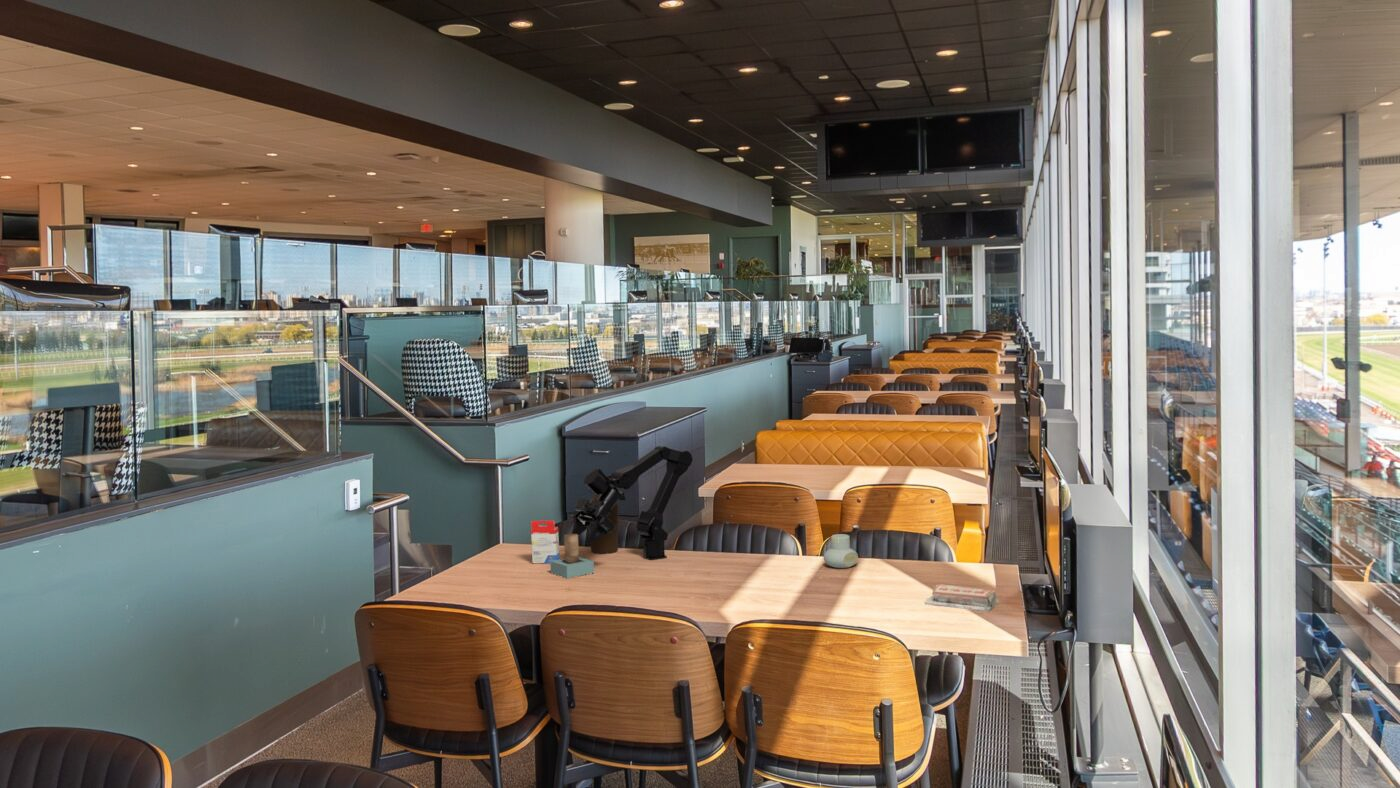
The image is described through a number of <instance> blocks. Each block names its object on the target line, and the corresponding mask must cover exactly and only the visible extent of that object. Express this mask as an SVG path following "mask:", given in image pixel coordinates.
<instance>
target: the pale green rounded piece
mask: <svg viewBox="0 0 1400 788" xmlns="http://www.w3.org/2000/svg"><path fill="white" fill-rule="evenodd" d="M830 537H831V538H830V545H831V547H830V548H828V549H827V550H826V551H825V552H824V554H823V560H824V562H825V564H827V565H828V566H829V567H831V568H836V569H849V568H851V567H852V566H854V565H856V564H857V562H858V560H859V555H858V552H856V551H855V550H854V549H853V548H852V547H851V540H850V535H848V534H845V533H837V534H832V535H831V536H830Z"/></svg>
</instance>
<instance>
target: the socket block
mask: <svg viewBox="0 0 1400 788" xmlns="http://www.w3.org/2000/svg"><path fill="white" fill-rule="evenodd" d="M594 563H595V562H594V560H591V559H589V558H588V559H587V558H584V557H581V556H579V562H578V563H573V564H566V563H565V558H560V560H554V561H551V564H550V574H551V573H553V574H552V575H554V574H556V575H555V576H557V575H559V576H558V577H560V576H562V577H561V578H564V577H565V578H564V579H567V578H568V579H572V578H571V577H573V578H576V577H575V576H578V577H581V576H580V575H583V576H586V575H585V574H588V575H591V574H590V573H593V574H594V573H595V569H594V568H595V566H594V565H595V564H594Z"/></svg>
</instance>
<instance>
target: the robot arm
mask: <svg viewBox="0 0 1400 788" xmlns="http://www.w3.org/2000/svg"><path fill="white" fill-rule="evenodd" d="M663 460H664V461H666V472H665V474H664V477H663V479H662V481H661V483H660V485H659V487H658V490H657V491H656V494H655V496H654V499H653V500H652V503H651V505H650V507H649V509H647V510H646V511H643V510H641V512H640V513H639V517H638V519H637V520H636V522H637V523H636V530H637V533H638V534H639V535H640V538H641V539H642V540H643V544H642V557H643V558H645V559H647V560H650V561H651V560H657V559H665V558H667V555H666V553H665V552H666V551H665V541H667V540H668V536H669V533H668V532H667V531H666V530H665V529H663V525H664V512H665V510H666V508H667V506H668V504H669V502H670V499H671V498H672V495H673V493H674V491H675V488H676V486H677V484H678V482H679V479H680V477H682V475H684V474H685V473H686V472H687V471H689V468H690V467H691V465H692V464H693V455H692V454H691V452H690V451H688V450H682V449H672V448H669V447H667V446H662V445H658V446H656V447H654V449H652V450H651V451H650V452H647V454H645V455H644V456H642V457H641V458H639V459H638V460H636V461H635V462H634V463H632V464H630V465H628V466H625V467H622V468H619V469H617V470H614V471H613V472H612V473H611V474H609V475H606V474H605V473H604V472H603V471H602V470H601V469H600V468H595V469H594V470H593V471H591V472H589V474H587V475H586V476H585V477H584V479H583V482H584V484H585V486H587V487H588V489H589V490H591V491H592V492H593V494H595V495H598V494H601V495H600V496H599V498H598V499H597V500H596V499H593V497H590V498H589V499H585V498H583V497H582V498H581V497H578V498H577V501H576V504H575V506H574V507H575V508H577V509H574V510H573V511H572V513H570V516H571V519H572V520H573V527H572V530H571V533H570V534H578V537H579V536H580V535H581V534H582V533H583V532H585V531H586V530H587V529H588V526H589V525H590V523H593V529H592V530H591V532H590V531H589V534H588V536H587V538H586V540H585V541H584V543H585V545H591V542H593V541H595V540H596V539H598V538H600V537H602V536H604V535H606V534H609V532H611V533H612V532H613V531H614V529H615V524H614V523H613V522H612V521H611V520H610V519H609V518H608V517H607V515H608V514H612V513H613V511H612V508H613V507H614V505H615V504H616V502H617V503H618V501H623V502H624V501H626V493H625V492H624V491H620V490H619V489H622V490H629V489H631V488H632V487H633V486H634V485H635V484H636V483H637V481H638V479H639V478H640V477H641V475H643V474H644V473H646V472H647V471H649V470H650V469H652V468H653V467H654V466H656V465H657V464H658V463H660V462H662V461H663ZM578 508H579V509H578ZM580 509H582V510H580Z"/></svg>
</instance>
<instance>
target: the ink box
mask: <svg viewBox="0 0 1400 788" xmlns="http://www.w3.org/2000/svg"><path fill="white" fill-rule="evenodd" d="M555 523H556V522H555V520H531V522H530V525H531V527H530V537H531V560H532V564H533V563H551V561H554V560H560V559H561V558H560V541H559V527H558V526H556V525H555ZM542 524H545V525H542Z"/></svg>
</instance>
